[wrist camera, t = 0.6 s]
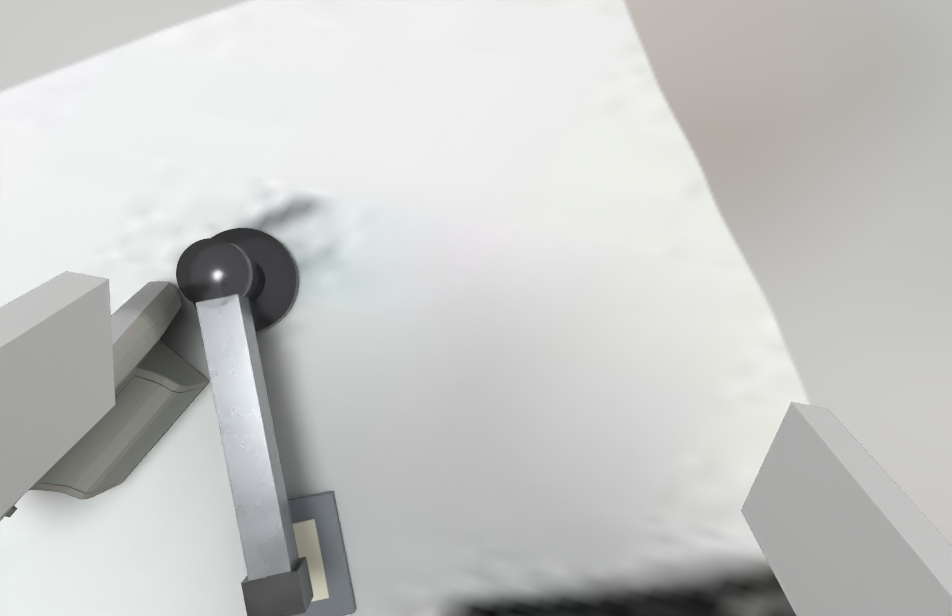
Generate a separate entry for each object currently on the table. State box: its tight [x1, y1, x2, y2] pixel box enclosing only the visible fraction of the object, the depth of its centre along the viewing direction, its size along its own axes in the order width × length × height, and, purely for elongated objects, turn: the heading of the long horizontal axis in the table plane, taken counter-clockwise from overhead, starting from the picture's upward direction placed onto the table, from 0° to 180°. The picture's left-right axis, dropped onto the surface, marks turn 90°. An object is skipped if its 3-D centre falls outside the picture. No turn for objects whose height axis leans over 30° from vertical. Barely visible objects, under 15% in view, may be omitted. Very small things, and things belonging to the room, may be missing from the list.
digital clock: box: [0, 282, 209, 521], centre depth 36 cm, size 16×9×11 cm, turn 129°
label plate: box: [288, 491, 356, 616], centre depth 41 cm, size 8×6×1 cm
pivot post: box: [193, 228, 299, 332], centre depth 40 cm, size 7×7×4 cm
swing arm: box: [176, 238, 314, 616], centre depth 36 cm, size 22×4×2 cm, turn 11°
